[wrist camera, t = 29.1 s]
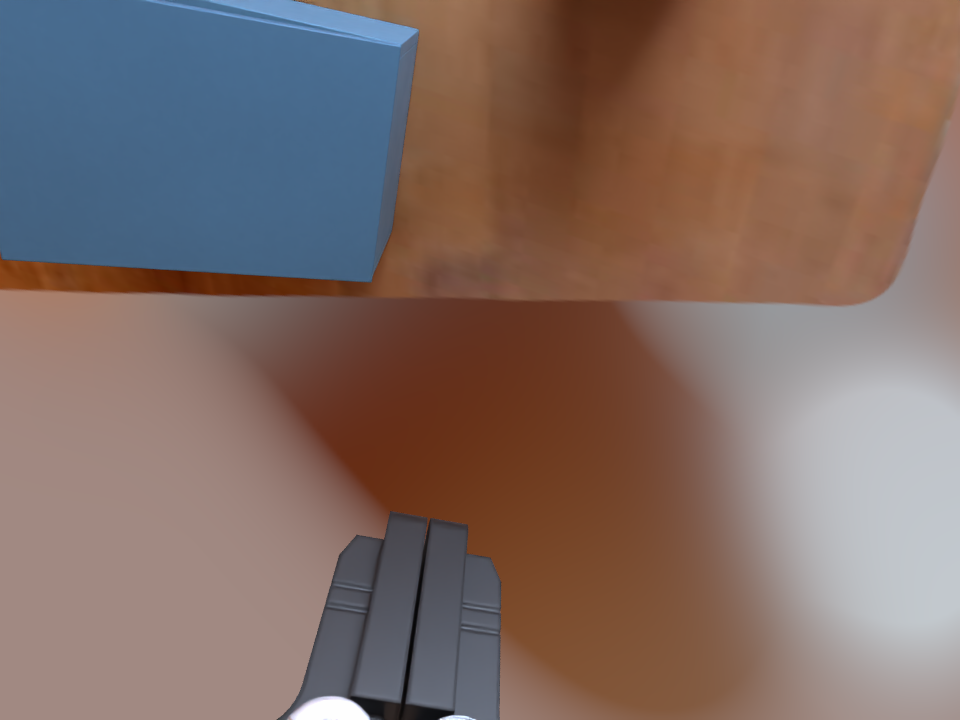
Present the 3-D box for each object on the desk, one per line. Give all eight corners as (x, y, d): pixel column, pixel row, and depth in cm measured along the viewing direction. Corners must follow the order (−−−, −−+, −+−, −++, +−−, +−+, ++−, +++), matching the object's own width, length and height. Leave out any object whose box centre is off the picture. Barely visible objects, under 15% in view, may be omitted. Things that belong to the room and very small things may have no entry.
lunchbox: (136, 179, 38) (72, 217, 33) (118, -40, 32) (36, -39, 27) (391, 231, 39) (372, 277, 34) (419, 29, 33) (401, 43, 28)
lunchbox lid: (6, 254, 28) (1, 260, 28) (-54, -40, 23) (-60, -38, 22) (370, 277, 34) (372, 283, 33) (399, 43, 28) (401, 46, 27)
